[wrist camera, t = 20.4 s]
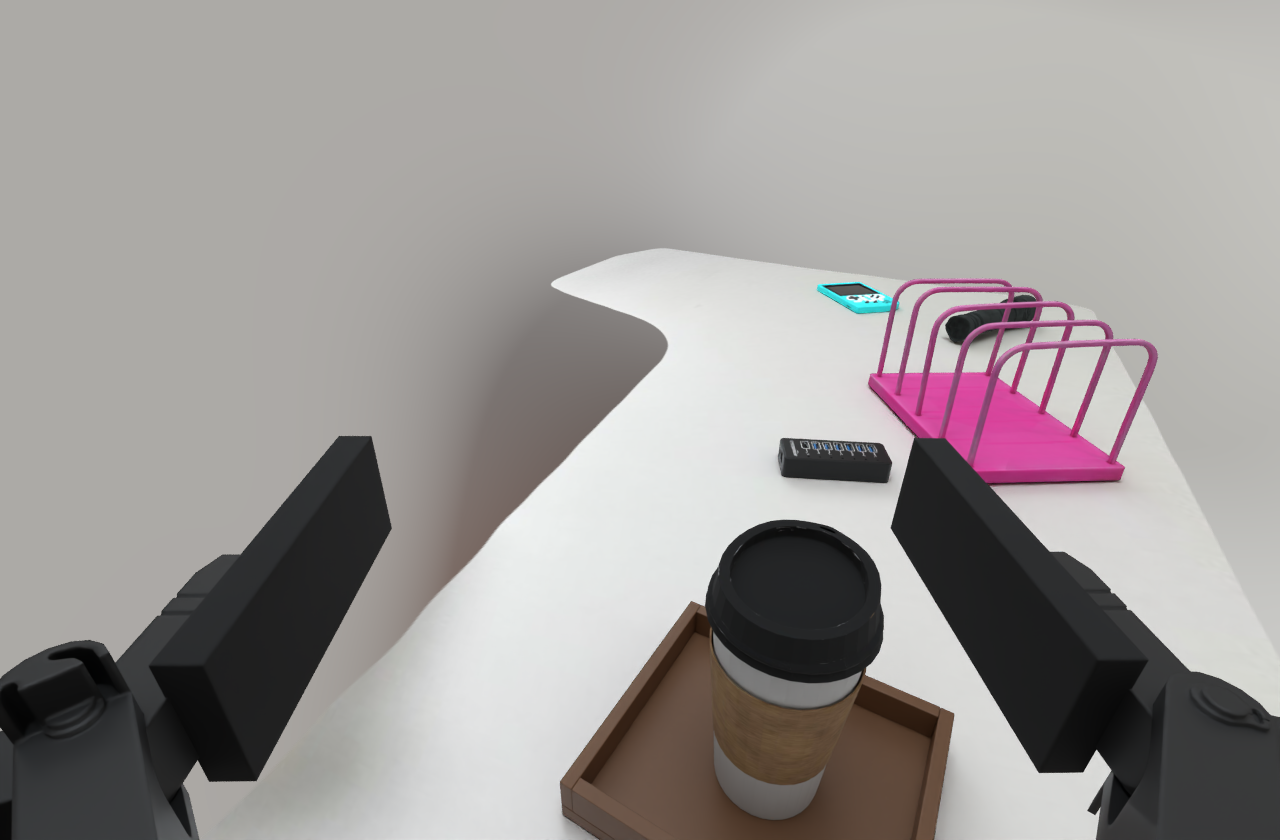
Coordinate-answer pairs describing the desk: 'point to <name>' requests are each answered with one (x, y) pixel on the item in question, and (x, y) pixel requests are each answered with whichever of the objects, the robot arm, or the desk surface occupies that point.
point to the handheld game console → (857, 297)
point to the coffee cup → (787, 658)
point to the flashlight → (987, 318)
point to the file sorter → (1004, 398)
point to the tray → (685, 773)
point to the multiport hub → (834, 460)
